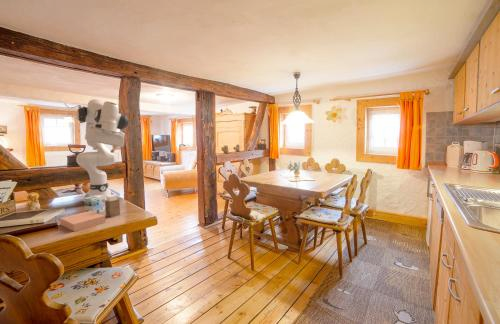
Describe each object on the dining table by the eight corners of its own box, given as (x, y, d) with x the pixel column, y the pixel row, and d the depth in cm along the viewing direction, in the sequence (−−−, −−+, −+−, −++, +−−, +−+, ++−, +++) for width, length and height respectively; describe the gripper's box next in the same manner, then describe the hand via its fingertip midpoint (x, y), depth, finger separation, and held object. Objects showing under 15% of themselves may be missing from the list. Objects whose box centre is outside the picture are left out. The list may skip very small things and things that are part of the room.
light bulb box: (93, 215, 154) (92, 199, 153) (84, 214, 156) (83, 198, 155) (106, 210, 165) (105, 194, 164) (98, 209, 166) (96, 194, 165)
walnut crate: (105, 215, 153) (104, 200, 152) (115, 213, 158) (114, 198, 157) (110, 217, 150) (109, 202, 149) (120, 214, 155) (119, 199, 154)
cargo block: (106, 200, 152) (106, 195, 152) (113, 198, 156) (113, 194, 156) (110, 201, 150) (109, 196, 150) (117, 199, 154) (116, 195, 153)
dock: (60, 224, 138) (60, 218, 138) (91, 216, 152) (90, 210, 151) (74, 231, 128) (73, 224, 128) (105, 222, 142) (105, 215, 141)
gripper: (123, 133, 152) (119, 154, 150) (86, 124, 136) (81, 148, 134) (127, 132, 148) (124, 154, 146) (90, 123, 132) (85, 147, 130)
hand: (103, 151), depth 140 cm, fingers open, 8 cm apart
